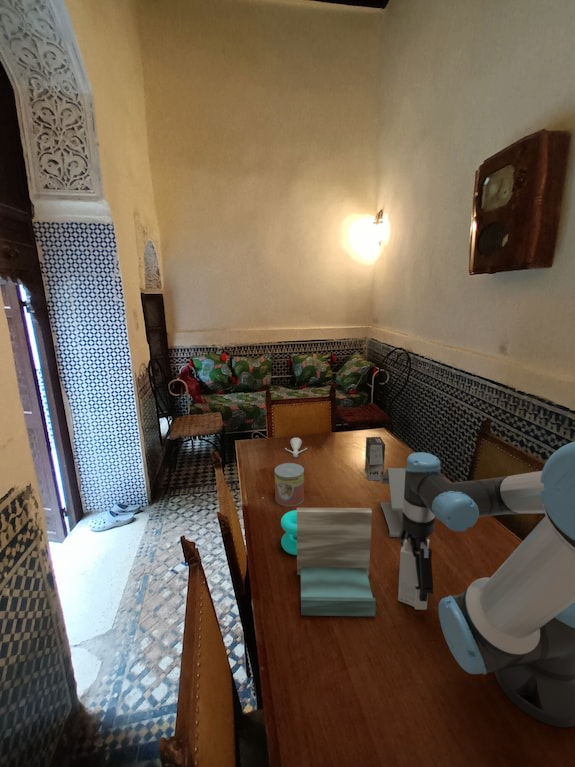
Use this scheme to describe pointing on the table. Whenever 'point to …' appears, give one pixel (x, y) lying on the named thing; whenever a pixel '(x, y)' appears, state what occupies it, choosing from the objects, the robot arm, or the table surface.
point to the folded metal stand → (394, 499)
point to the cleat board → (334, 561)
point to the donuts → (290, 532)
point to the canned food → (289, 484)
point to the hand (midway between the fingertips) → (412, 587)
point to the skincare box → (408, 574)
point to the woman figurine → (295, 446)
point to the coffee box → (374, 458)
